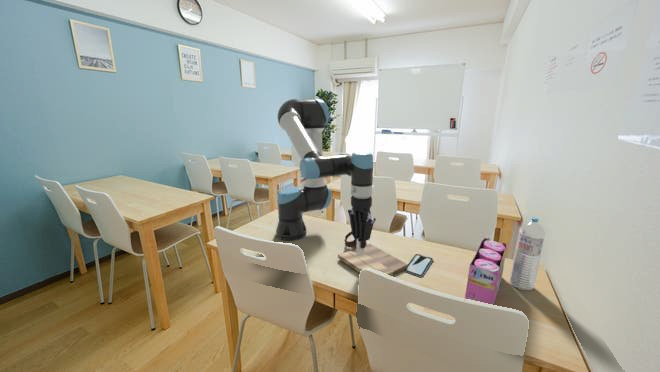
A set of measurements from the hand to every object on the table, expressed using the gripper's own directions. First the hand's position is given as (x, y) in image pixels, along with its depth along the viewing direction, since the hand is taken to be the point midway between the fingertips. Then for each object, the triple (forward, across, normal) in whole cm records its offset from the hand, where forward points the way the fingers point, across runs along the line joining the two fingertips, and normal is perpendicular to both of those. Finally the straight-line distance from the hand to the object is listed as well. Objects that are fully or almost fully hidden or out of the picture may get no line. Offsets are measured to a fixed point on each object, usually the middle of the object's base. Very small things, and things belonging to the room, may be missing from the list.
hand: (360, 254), depth 103 cm
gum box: (+7, +34, +27) cm, 44 cm away
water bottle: (+7, +41, +39) cm, 57 cm away
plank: (+6, 0, +2) cm, 6 cm away
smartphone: (+7, +12, +20) cm, 25 cm away
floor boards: (+6, 0, +11) cm, 13 cm away
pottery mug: (+7, -15, +11) cm, 20 cm away
